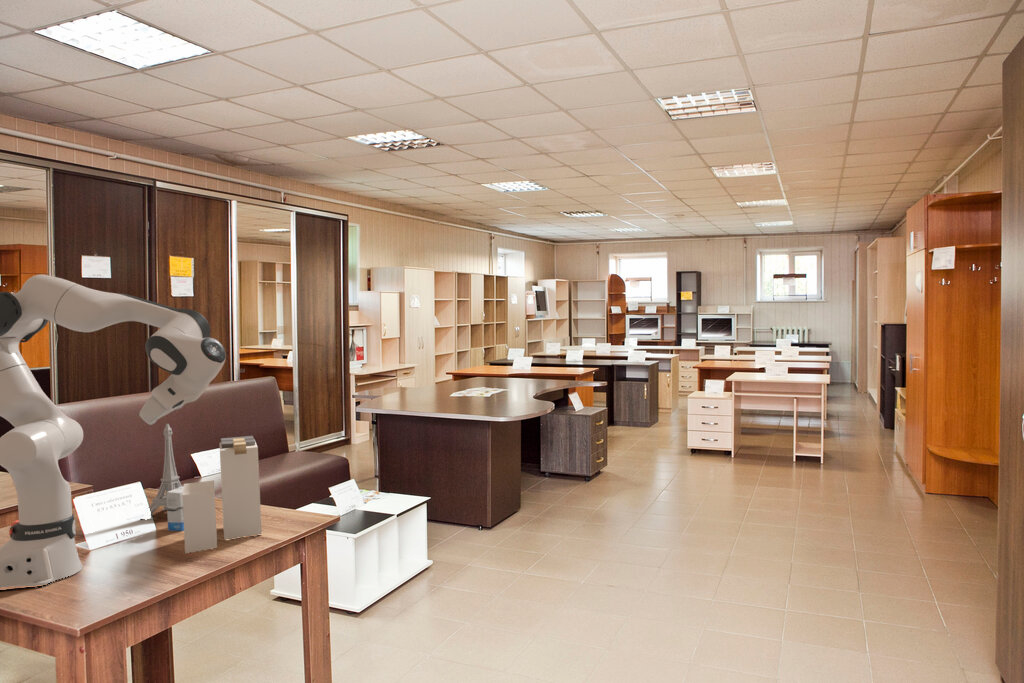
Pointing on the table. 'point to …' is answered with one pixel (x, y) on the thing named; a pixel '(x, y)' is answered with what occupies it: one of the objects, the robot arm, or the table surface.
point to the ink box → (175, 509)
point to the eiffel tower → (166, 474)
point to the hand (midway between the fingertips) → (163, 414)
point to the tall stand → (240, 492)
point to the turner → (238, 443)
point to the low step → (199, 516)
